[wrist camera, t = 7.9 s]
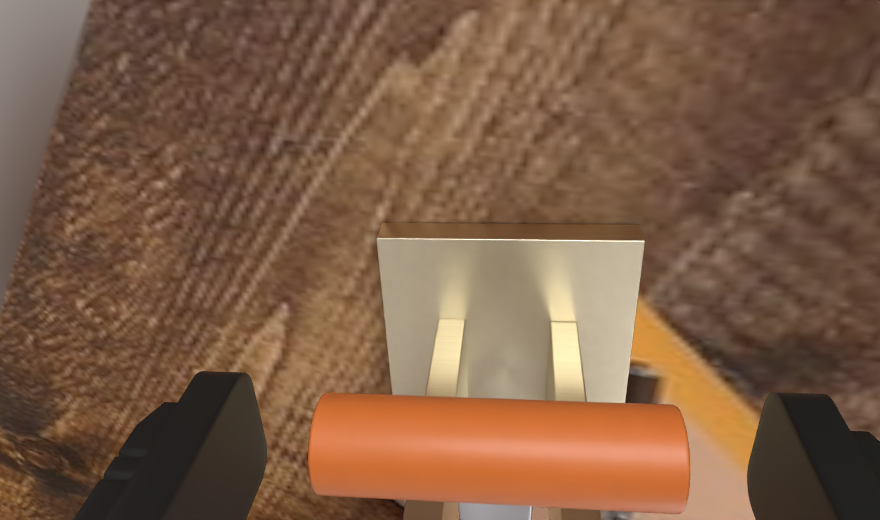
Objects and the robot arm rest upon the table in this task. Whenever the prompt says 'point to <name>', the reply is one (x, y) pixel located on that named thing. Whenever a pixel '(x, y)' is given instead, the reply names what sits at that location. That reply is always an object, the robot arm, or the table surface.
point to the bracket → (509, 316)
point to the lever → (501, 453)
